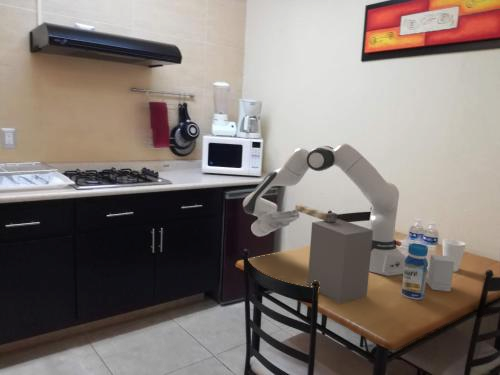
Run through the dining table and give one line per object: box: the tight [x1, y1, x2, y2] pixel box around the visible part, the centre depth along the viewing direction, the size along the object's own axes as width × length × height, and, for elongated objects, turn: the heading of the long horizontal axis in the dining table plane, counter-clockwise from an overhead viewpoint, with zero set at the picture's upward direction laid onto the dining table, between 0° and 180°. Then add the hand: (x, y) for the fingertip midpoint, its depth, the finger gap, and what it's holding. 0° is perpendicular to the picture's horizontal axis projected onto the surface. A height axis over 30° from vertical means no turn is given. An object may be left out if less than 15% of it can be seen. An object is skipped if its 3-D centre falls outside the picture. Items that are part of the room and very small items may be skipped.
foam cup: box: [441, 238, 467, 272], centre depth 181 cm, size 10×9×13 cm
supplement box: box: [426, 254, 454, 292], centre depth 160 cm, size 7×7×13 cm
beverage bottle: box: [400, 243, 429, 300], centre depth 150 cm, size 8×8×20 cm
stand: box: [307, 218, 373, 305], centre depth 151 cm, size 18×14×26 cm
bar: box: [294, 204, 338, 223], centre depth 161 cm, size 22×4×3 cm, turn 32°
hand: (288, 212), depth 177 cm, fingers open, 8 cm apart
